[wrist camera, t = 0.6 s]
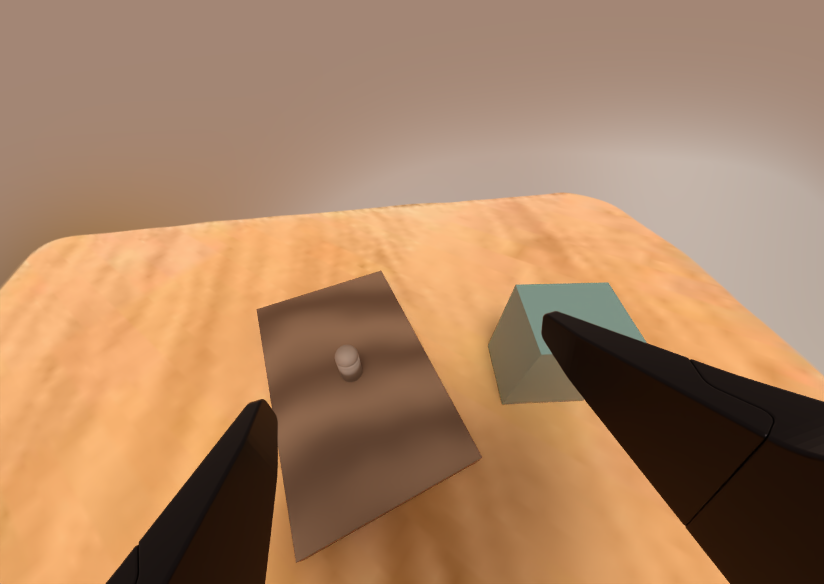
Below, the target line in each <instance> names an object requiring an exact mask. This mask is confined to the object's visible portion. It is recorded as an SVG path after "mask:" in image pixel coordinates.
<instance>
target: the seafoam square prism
mask: <svg viewBox="0 0 824 584" xmlns="http://www.w3.org/2000/svg"><path fill="white" fill-rule="evenodd" d="M553 311H559V312H561V313H564V314H567V315H570V316H573V317H575V318H578V319H581V320H584V321H586V322H589V323H592V324H595V325H598V326H600V327H603V328H606V329H609V330H612V331H614V332H617V333H620V334H623V335H625V336H628V337H631V338H634V339H637V340H639V341H642V342H645V343H646V341H645V339H644V338H643V336H642V335H641V333H640V332H639V330H638V329H637V327H636V325H635V324H634V322H633V321H632V319H631V318H630V316H629V314H628V313H627V311H626V310H625V308H624V307H623V305H622V303H621V302H620V300H619V299H618V297H617V296H616V294H615V292H614V291H613V289H612V288H611V286H610V285H609V283H572V284H530V285H515V287H514V290H513V292H512V294H511V296H510V298H509V301H508V303H507V305H506V307H505V309H504V311H503V314H502V316H501V318H500V320H499V322H498V324H497V327H496V329H495V331H494V333H493V335H492V337H491V340H490V342H489V344H488V348H489V352H490V356H491V360H492V365H493V369H494V373H495V377H496V381H497V385H498V389H499V393H500V397H501V401H502V404H518V403H540V402H563V401H582V400H584V398H583V397H582V396H581V394H580V393H579V392H578V391H577V389H576V388H575V387H574V386H573V384H572V383H571V382H570V380H569V379H568V378H567V376H566V375H565V373H564V372H563V370H562V368H561V367H560V365H559V364H558V362H557V361H556V359H555V357H554V356H553V354H552V353H551V351H550V350H549V348H548V346H547V345H546V343H545V342H544V340H543V338H542V334H541V330H542V320H543V316H544V314H546V313H550V312H553Z"/></svg>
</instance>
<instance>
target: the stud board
mask: <svg viewBox="0 0 824 584" xmlns="http://www.w3.org/2000/svg"><path fill="white" fill-rule="evenodd" d="M257 314H258V321H259V327H260V334H261V340H262V347H263V353H264V359H265V366H266V372H267V379H268V385H269V391H270V398H271V404H272V410H273V411H274V413H275V414H276V416H277V420H278V449H279V456H280V462H281V468H282V475H283V481H284V488H285V494H286V500H287V507H288V513H289V520H290V526H291V533H292V539H293V545H294V552H295V558H296V563H297V562H300V561H303V560H305V559H307V558H308V557H310V556H312V555H314V554H315V553H317V552H319V551H321V550H322V549H324V548H326V547H328V546H330V545H331V544H333V543H335V542H337V541H338V540H340V539H342V538H344V537H345V536H347V535H349V534H351V533H352V532H354V531H356V530H358V529H359V528H361V527H363V526H365V525H367V524H368V523H370V522H372V521H374V520H375V519H377V518H379V517H381V516H382V515H384V514H386V513H388V512H389V511H391V510H393V509H395V508H396V507H398V506H400V505H402V504H403V503H405V502H407V501H409V500H411V499H412V498H414V497H416V496H418V495H419V494H421V493H423V492H425V491H426V490H428V489H430V488H432V487H433V486H435V485H437V484H439V483H440V482H442V481H444V480H446V479H448V478H449V477H451V476H453V475H455V474H456V473H458V472H460V471H462V470H463V469H465V468H467V467H469V466H470V465H472V464H474V463H476V462H477V461H479V460H480V459H481V458H482V456H481V454H480V452H479V450H478V449H477V447H476V445H475V443H474V441H473V439H472V438H471V436H470V434H469V432H468V430H467V428H466V426H465V425H464V423H463V421H462V419H461V417H460V415H459V414H458V412H457V410H456V408H455V406H454V404H453V402H452V401H451V399H450V397H449V395H448V393H447V391H446V390H445V388H444V386H443V384H442V382H441V380H440V378H439V377H438V375H437V373H436V371H435V369H434V367H433V366H432V364H431V362H430V360H429V358H428V356H427V354H426V353H425V351H424V349H423V347H422V345H421V343H420V342H419V340H418V338H417V336H416V334H415V332H414V330H413V329H412V327H411V325H410V323H409V321H408V319H407V317H406V316H405V314H404V312H403V310H402V308H401V306H400V305H399V303H398V301H397V299H396V297H395V295H394V293H393V292H392V290H391V288H390V286H389V284H388V282H387V281H386V279H385V277H384V275H383V273H382V271H379V272H375V273H372V274H369V275H366V276H363V277H359V278H356V279H353V280H350V281H347V282H343V283H340V284H337V285H334V286H330V287H327V288H324V289H321V290H318V291H314V292H311V293H308V294H305V295H301V296H298V297H295V298H292V299H289V300H285V301H282V302H279V303H276V304H273V305H269V306H266V307H263V308H260V309H257Z"/></svg>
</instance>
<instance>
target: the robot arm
mask: <svg viewBox="0 0 824 584" xmlns="http://www.w3.org/2000/svg"><path fill="white" fill-rule="evenodd" d="M541 334H542V338H543V340H544V342H545V343H546V345H547V346H548V348H549V350H550V351H551V353H552V354H553V356H554V357H555V359H556V361H557V362H558V364H559V365H560V367H561V368H562V370H563V372H564V373H565V375H566V376H567V378H568V379H569V380H570V382H571V383H572V384H573V386H574V387H575V388H576V389H577V391H578V392H579V393H580V394H581V396H582V397H583V398H584V399H585V401H586V402H587V403H588V405H589V406H590V407H591V408H592V410H593V411H594V412H595V413H596V415H597V416H598V417H599V418H600V420H601V421H602V422H603V423H604V425H605V426H606V427H607V429H608V430H609V431H610V432H611V434H612V435H613V436H614V437H615V439H616V440H617V441H618V442H619V444H620V445H621V446H622V447H623V449H624V450H625V451H626V452H627V454H628V455H629V456H630V458H631V459H632V460H633V461H634V463H635V464H636V465H637V466H638V468H639V469H640V470H641V471H642V473H643V474H644V475H645V476H646V478H647V479H648V480H649V482H650V483H651V484H652V485H653V487H654V488H655V489H656V490H657V492H658V493H659V494H660V495H661V497H662V498H663V499H664V500H665V502H666V503H667V504H668V506H669V507H670V508H671V509H672V511H673V512H674V513H675V514H676V516H677V517H678V518H679V519H680V521H681V522H682V523H683V524H684V525H685V526H686V529H687V530H688V531H689V532H690V534H691V535H692V536H693V537H694V539H695V540H696V541H697V543H698V544H699V545H700V546H701V548H702V549H703V550H704V551H705V553H706V554H707V555H708V556H709V558H710V559H711V560H712V561H713V563H714V564H715V565H716V566H717V568H718V569H719V570H720V572H721V573H722V574H723V575H724V577H725V578H726V579H727V580H728V582H729V583H730V584H824V402H823V401H820V400H816V399H813V398H810V397H806V396H803V395H800V394H796V393H793V392H790V391H787V390H783V389H780V388H777V387H773V386H770V385H767V384H764V383H761V382H757V381H754V380H751V379H748V378H745V377H742V376H738V375H735V374H732V373H730V372H727V371H724V370H721V369H718V368H715V367H712V366H709V365H706V364H704V363H701V362H698V361H695V360H692V359H690V360H689V359H688V358H687V357H684V356H681V355H678V354H676V353H673V352H670V351H667V350H664V349H662V348H659V347H656V346H653V345H651V344H648V343H645V342H642V341H639V340H637V339H634V338H631V337H628V336H625V335H623V334H620V333H617V332H614V331H612V330H609V329H606V328H603V327H600V326H598V325H595V324H592V323H589V322H586V321H584V320H581V319H578V318H575V317H573V316H570V315H567V314H564V313H561V312H559V311H553V312H550V313H546V314H544V316H543V320H542V330H541ZM277 469H278V420H277V416H276V414H275V413H274V411H273V410H272V409H271V407H270V406H269V404H268V403H267V402H266V401H265V400H264V399H260V400H257V401H254V402H250V403H249V404H247V406H246V407H245V408H244V409H243V411H242V412H241V413H240V414H239V416H238V417H237V418H236V419H235V421H234V422H233V423H232V424H231V426H230V427H229V428H228V430H227V431H226V432H225V433H224V435H223V436H222V437H221V438H220V440H219V441H218V442H217V444H216V445H215V446H214V447H213V449H212V450H211V451H210V452H209V454H208V455H207V456H206V457H205V459H204V460H203V461H202V463H201V464H200V465H199V466H198V468H197V469H196V470H195V471H194V473H193V474H192V475H191V476H190V478H189V479H188V480H187V482H186V483H185V484H184V485H183V487H182V488H181V489H180V490H179V492H178V493H177V494H176V496H175V497H174V498H173V499H172V501H171V502H170V503H169V504H168V506H167V507H166V508H165V509H164V511H163V512H162V513H161V515H160V516H159V517H158V518H157V520H156V521H155V522H154V523H153V525H152V526H151V527H150V529H149V530H148V531H147V532H146V534H145V535H144V536H143V537H142V539H141V540H140V541H139V545H137V546H135V547H134V549H133V550H132V551H131V552H130V554H129V555H128V556H127V558H126V559H125V560H124V561H123V563H122V564H121V565H120V566H119V568H118V569H117V570H116V571H115V573H114V574H113V575H112V576H111V578H110V579H109V580H108V581H107V582H106V584H265V580H266V571H267V562H268V553H269V545H270V536H271V527H272V518H273V510H274V501H275V492H276V483H277Z"/></svg>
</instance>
